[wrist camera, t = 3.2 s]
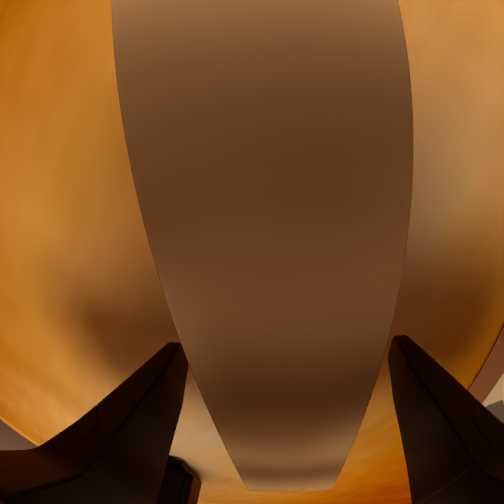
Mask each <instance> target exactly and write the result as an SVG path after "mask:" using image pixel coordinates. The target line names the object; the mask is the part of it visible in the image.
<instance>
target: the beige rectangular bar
mask: <svg viewBox="0 0 504 504" xmlns="http://www.w3.org/2000/svg"><path fill="white" fill-rule="evenodd" d="M111 6H112V30H113V44H114V57H115V67H116V76H117V85H118V93H119V100H120V107H121V114H122V120H123V127H124V133H125V138H126V144H127V149H128V155H129V160H130V165H131V170H132V175H133V179H134V184H135V188H136V193H137V197H138V201H139V206H140V210H141V214H142V218H143V222H144V226H145V230H146V233H147V237H148V241H149V245H150V248H151V252H152V255H153V259H154V262H155V266H156V269H157V272H158V276H159V279H160V282H161V285H162V289H163V292H164V295H165V298H166V301H167V304H168V307H169V310H170V313H171V316H172V319H173V322H174V325H175V328H176V330H177V333H178V336H179V339H180V341H181V344H182V347H183V350H184V352H185V355H186V357H187V360H188V363H189V365H190V368H191V370H192V373H193V375H194V378H195V380H196V383H197V385H198V388H199V390H200V392H201V395H202V397H203V399H204V402H205V404H206V406H207V409H208V411H209V413H210V415H211V418H212V420H213V422H214V424H215V426H216V429H217V431H218V433H219V435H220V437H221V439H222V441H223V443H224V445H225V447H226V450H227V452H228V454H229V456H230V458H231V460H232V462H233V463H234V465H235V467H236V469H237V471H238V473H239V475H240V477H241V479H242V481H243V482H244V484H245V486H246V488H247V490H248V491H275V492H285V491H313V490H327V489H332V488H333V486H334V484H335V482H336V480H337V478H338V476H339V474H340V472H341V470H342V468H343V465H344V463H345V461H346V459H347V457H348V454H349V452H350V450H351V447H352V445H353V443H354V440H355V438H356V435H357V433H358V430H359V428H360V425H361V423H362V420H363V418H364V415H365V412H366V409H367V407H368V404H369V401H370V398H371V395H372V392H373V389H374V386H375V383H376V380H377V377H378V373H379V370H380V367H381V363H382V360H383V356H384V353H385V349H386V345H387V342H388V338H389V334H390V330H391V326H392V321H393V317H394V312H395V308H396V303H397V298H398V293H399V288H400V283H401V277H402V271H403V265H404V258H405V251H406V244H407V236H408V227H409V218H410V207H411V193H412V175H413V113H412V95H411V82H410V72H409V63H408V55H407V48H406V41H405V35H404V29H403V23H402V18H401V13H400V8H399V4H398V0H111Z"/></svg>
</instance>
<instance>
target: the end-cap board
mask: <svg viewBox="0 0 504 504" xmlns="http://www.w3.org/2000/svg"><path fill="white" fill-rule="evenodd" d="M468 391H469V392H470V393H471V394H472V395H473V396H474V397H475V399H477V400H478V401H479V402H480V403H481V404H483V405H484V406H485V407H487V406H488V405H490V404H493V403H496V402H498V401H501V400H503V403H504V327H503V329H502V331H501V333H500V335H499V337H498V339H497V341H496V343H495V345H494V347H493V349H492V351H491V353H490V355H489V356H488V358H487V360H486V362H485V364H484V365H483V367H482V369H481V371H480V372H479V374H478V376H477V377H476V379H475V381H474V382H473V384H472V385H471V387H470V388H469V390H468Z"/></svg>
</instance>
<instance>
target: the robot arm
mask: <svg viewBox="0 0 504 504" xmlns="http://www.w3.org/2000/svg"><path fill="white" fill-rule="evenodd" d="M388 363H389V370H390V377H391V385H392V393H393V401H394V406H395V410H396V414H397V419H398V424H399V428H400V433H401V438H402V443H403V448H404V454H405V459H406V465H407V471H408V478H409V485H410V492H411V500H412V504H504V423H503V422H502V421H501V420H500V419H498V418H497V417H496V416H495V415H494V414H492V413H491V412H490V411H489V410H488V409H487V408H486V407H485V406H484V405H483V404H481V403H480V402H479V401H478V400H477V399H475V397H474V396H473V395H472V394H471V393H470V392H469V391H468V390H467V389H465V388H464V387H463V386H462V385H461V384H460V383H459V382H458V381H457V380H456V379H455V378H454V377H453V376H451V375H450V374H449V373H448V372H447V371H446V370H445V369H444V368H443V367H442V366H440V365H439V364H438V363H437V362H436V361H435V360H434V359H433V358H432V357H431V356H429V355H428V354H427V353H426V352H425V351H424V350H423V349H422V348H420V347H419V346H418V345H417V344H416V343H415V342H414V341H413V340H411V339H410V338H409V337H408V336H406V335H399V336H395V337H394V338H393V340H392V343H391V347H390V350H389V353H388ZM187 371H188V360H187V357H186V355H185V352H184V350H183V347H182V344H181V343H178V342H169V343H168V344H166V345H165V346H164V347H163V348H162V349H161V350H160V351H158V352H157V353H156V354H155V355H154V356H153V357H152V358H150V359H149V360H148V361H147V362H146V363H145V364H144V365H142V366H141V367H140V368H139V369H138V370H137V371H135V372H134V373H133V374H132V375H131V376H130V377H128V378H127V379H126V380H125V381H124V382H123V383H122V384H120V385H119V386H118V387H117V388H116V389H115V390H113V391H112V392H111V393H110V394H109V395H108V396H106V397H105V398H104V399H103V400H102V401H101V402H99V403H98V404H97V406H95V407H93V408H92V409H91V410H90V411H89V412H87V413H86V414H85V415H84V416H83V417H81V418H80V419H79V420H77V421H76V422H75V423H73V424H72V425H71V426H69V427H68V428H66V429H65V430H63V431H62V432H60V433H59V434H57V435H56V436H54V437H53V438H51V439H50V440H48V441H47V442H45V443H44V444H42V445H40V446H38V447H36V448H33V449H28V450H0V504H197V502H198V497H199V493H200V488H201V484H202V482H201V481H200V480H199V479H198V478H197V477H196V476H195V475H194V474H193V472H192V471H191V470H190V469H189V468H188V467H187V465H186V464H185V463H184V462H183V461H181V460H178V459H173V458H168V456H169V452H170V448H171V444H172V441H173V437H174V433H175V430H176V426H177V422H178V419H179V415H180V412H181V408H182V403H183V397H184V390H185V384H186V377H187Z"/></svg>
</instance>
